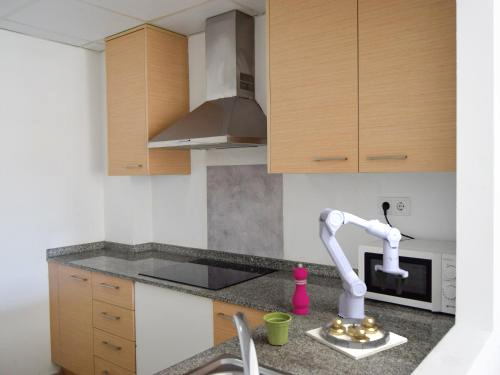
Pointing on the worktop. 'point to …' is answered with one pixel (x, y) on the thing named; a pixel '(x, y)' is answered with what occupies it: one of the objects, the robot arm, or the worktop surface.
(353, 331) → the sun and planets
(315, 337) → the board
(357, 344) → the ring gear
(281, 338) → the plant pot
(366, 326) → the gear
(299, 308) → the pepper mill
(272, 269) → the worktop surface
